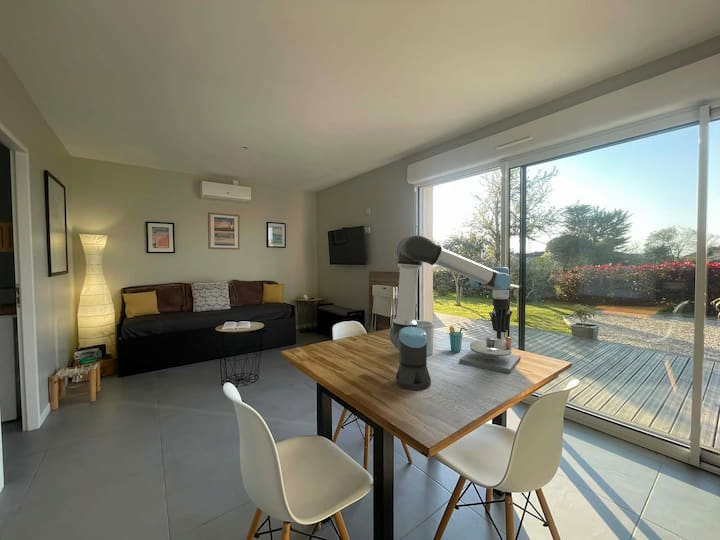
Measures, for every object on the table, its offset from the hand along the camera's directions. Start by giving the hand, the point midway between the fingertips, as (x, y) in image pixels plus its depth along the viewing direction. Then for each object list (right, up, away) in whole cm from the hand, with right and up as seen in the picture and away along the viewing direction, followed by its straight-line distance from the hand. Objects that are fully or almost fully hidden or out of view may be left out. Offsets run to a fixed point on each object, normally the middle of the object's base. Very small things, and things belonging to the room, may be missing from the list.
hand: (500, 344), depth 152 cm
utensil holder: (-35, -10, +23) cm, 43 cm away
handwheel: (-2, -4, +7) cm, 8 cm away
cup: (-14, -10, +24) cm, 30 cm away
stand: (-2, -10, +7) cm, 13 cm away
